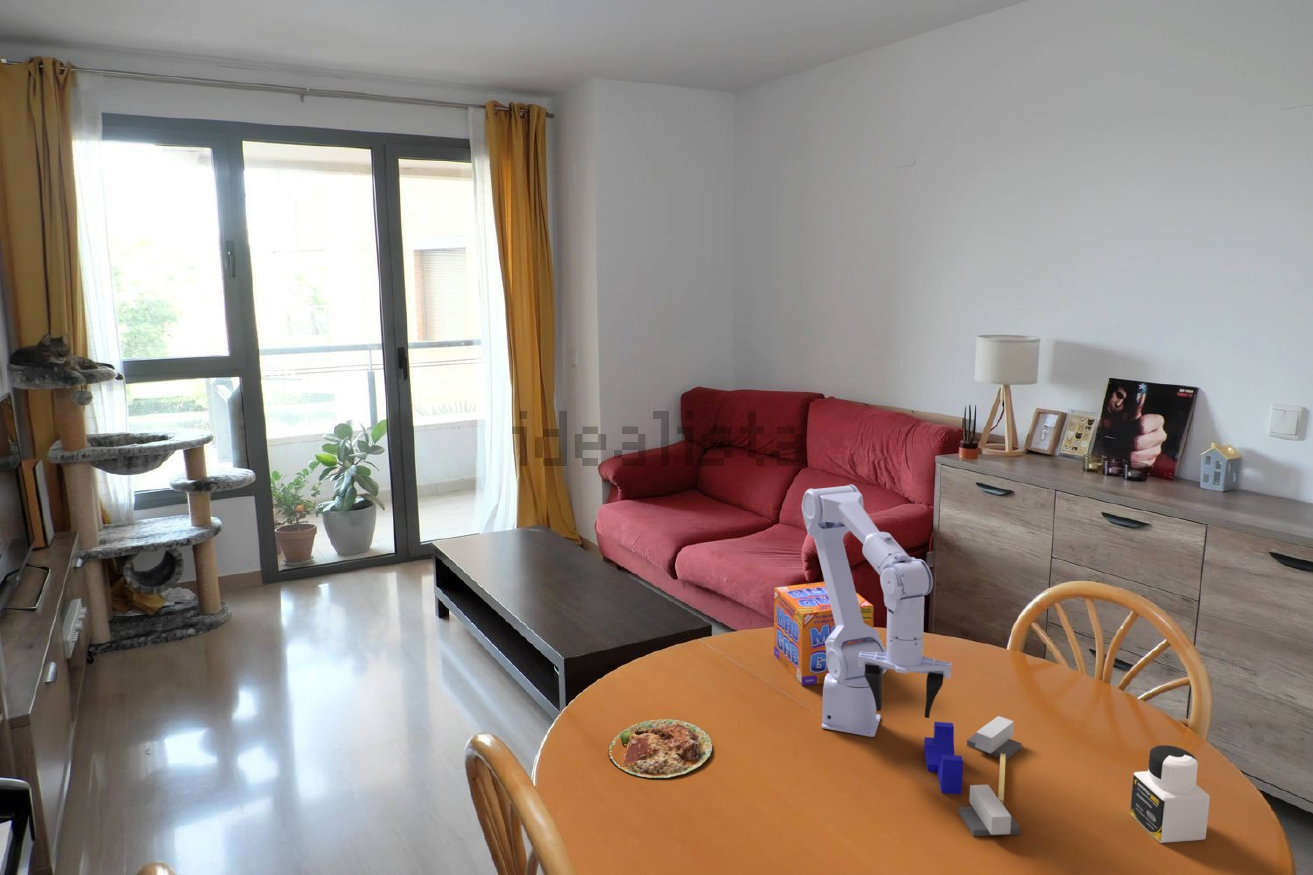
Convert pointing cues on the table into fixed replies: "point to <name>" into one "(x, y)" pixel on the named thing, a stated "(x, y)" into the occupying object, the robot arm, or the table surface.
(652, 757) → the food
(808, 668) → the game box
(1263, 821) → the table surface
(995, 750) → the shaft rig
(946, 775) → the blue piece
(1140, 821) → the medicine bottle
